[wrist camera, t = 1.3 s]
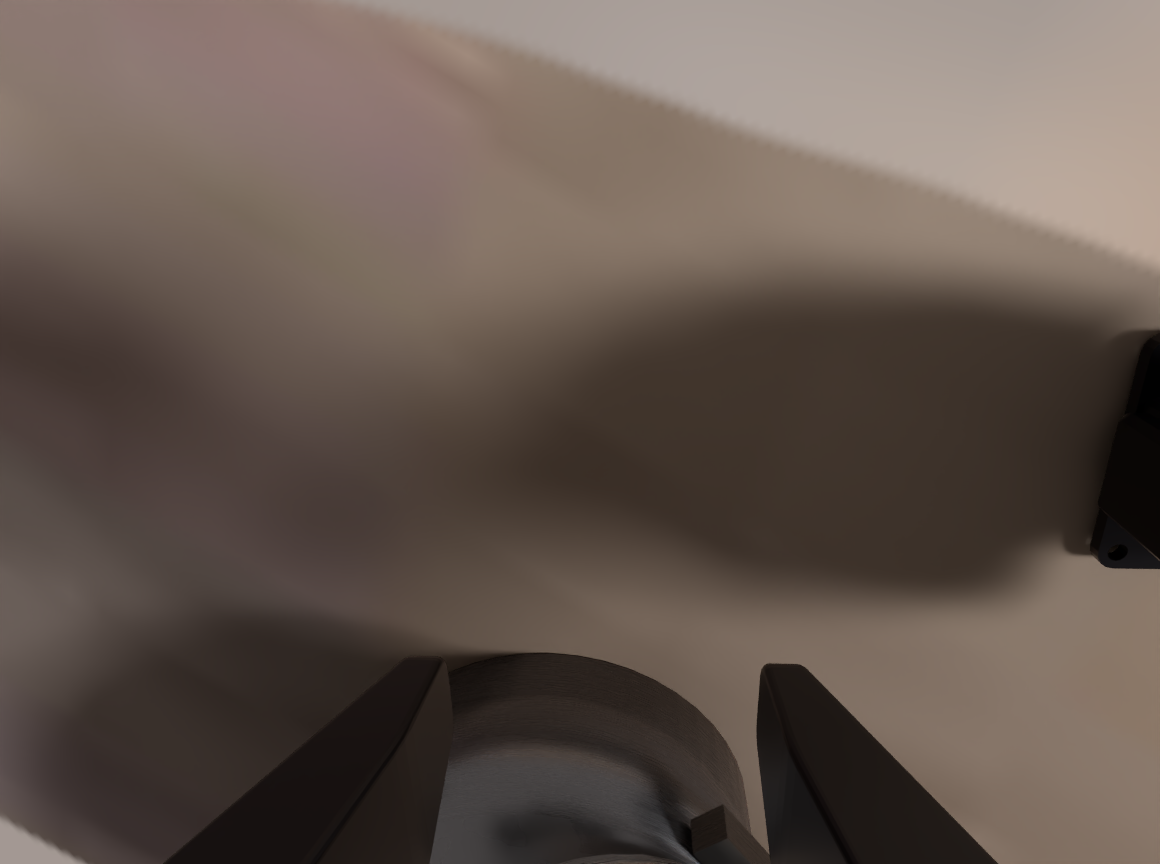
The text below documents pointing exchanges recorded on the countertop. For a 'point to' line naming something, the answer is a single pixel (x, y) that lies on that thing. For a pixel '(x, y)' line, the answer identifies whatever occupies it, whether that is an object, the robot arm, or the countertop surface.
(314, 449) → the countertop surface
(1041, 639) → the countertop surface
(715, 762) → the cooker pot
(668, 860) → the cooker lid
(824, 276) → the countertop surface
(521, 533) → the countertop surface
